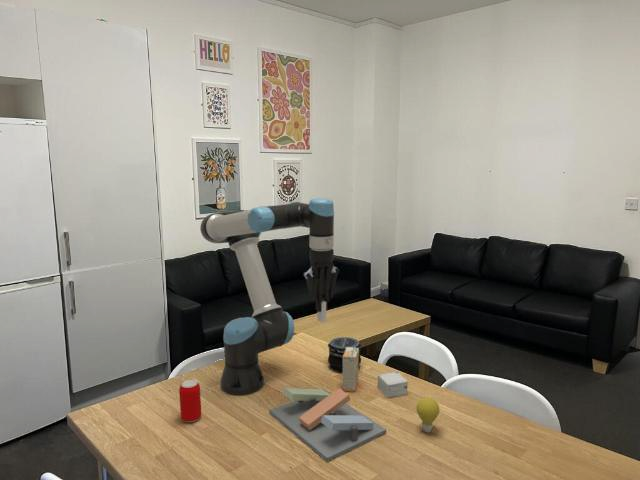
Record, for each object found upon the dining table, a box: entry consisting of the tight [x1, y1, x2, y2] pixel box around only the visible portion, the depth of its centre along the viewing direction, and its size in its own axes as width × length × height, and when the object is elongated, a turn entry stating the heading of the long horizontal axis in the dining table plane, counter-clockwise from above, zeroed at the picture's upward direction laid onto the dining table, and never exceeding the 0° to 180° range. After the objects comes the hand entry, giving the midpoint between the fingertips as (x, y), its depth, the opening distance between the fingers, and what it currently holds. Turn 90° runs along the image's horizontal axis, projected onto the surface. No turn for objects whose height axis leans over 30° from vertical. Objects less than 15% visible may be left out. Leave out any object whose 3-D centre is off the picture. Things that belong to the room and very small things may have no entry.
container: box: [327, 336, 362, 374], centre depth 183 cm, size 13×13×10 cm
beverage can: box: [178, 379, 202, 423], centre depth 148 cm, size 6×6×12 cm
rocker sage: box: [282, 387, 330, 402], centre depth 153 cm, size 6×16×2 cm, turn 127°
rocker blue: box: [321, 415, 374, 431], centre depth 138 cm, size 6×16×2 cm, turn 127°
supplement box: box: [341, 347, 359, 393], centre depth 168 cm, size 8×5×13 cm, turn 168°
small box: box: [376, 371, 408, 399], centre depth 165 cm, size 8×8×5 cm
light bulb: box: [416, 397, 440, 433], centre depth 142 cm, size 7×7×10 cm
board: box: [269, 389, 387, 463], centre depth 146 cm, size 30×22×5 cm
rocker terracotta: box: [299, 388, 351, 430], centre depth 145 cm, size 6×16×2 cm, turn 127°
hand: (321, 320), depth 153 cm, fingers closed
